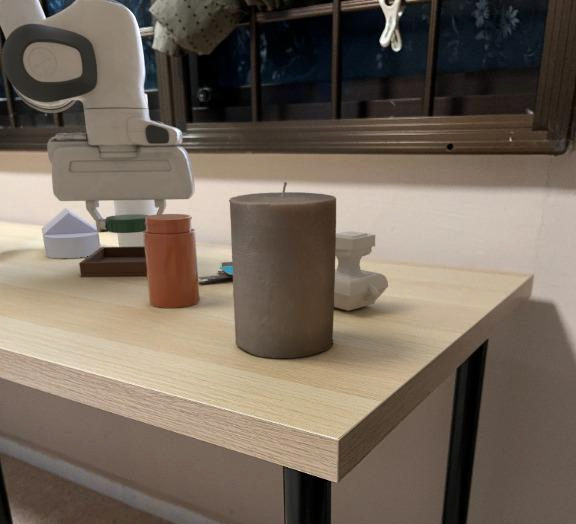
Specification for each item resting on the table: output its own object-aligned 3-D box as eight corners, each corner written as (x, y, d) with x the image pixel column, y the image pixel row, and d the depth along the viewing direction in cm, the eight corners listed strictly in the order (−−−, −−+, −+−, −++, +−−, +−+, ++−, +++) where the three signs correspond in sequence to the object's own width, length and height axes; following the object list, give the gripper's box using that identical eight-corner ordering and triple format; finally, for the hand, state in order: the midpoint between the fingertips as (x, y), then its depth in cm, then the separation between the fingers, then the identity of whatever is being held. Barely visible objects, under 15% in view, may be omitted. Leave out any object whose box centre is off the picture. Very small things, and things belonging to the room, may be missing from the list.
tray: (80, 276, 88) (78, 263, 87) (102, 259, 100) (101, 246, 99) (166, 275, 88) (165, 261, 87) (177, 258, 100) (176, 246, 99)
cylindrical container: (134, 252, 105) (118, 92, 95) (111, 248, 109) (93, 94, 100) (167, 247, 110) (155, 94, 100) (144, 243, 114) (130, 95, 105)
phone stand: (214, 294, 78) (213, 281, 77) (189, 276, 88) (188, 264, 87) (351, 279, 85) (352, 267, 84) (314, 264, 95) (314, 253, 94)
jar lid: (139, 233, 88) (138, 220, 87) (98, 232, 89) (97, 219, 89) (158, 227, 94) (157, 214, 93) (119, 226, 95) (118, 213, 95)
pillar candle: (340, 331, 63) (344, 178, 57) (324, 363, 54) (327, 187, 48) (250, 325, 65) (245, 177, 59) (220, 355, 56) (211, 185, 50)
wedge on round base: (44, 247, 110) (46, 260, 99) (38, 209, 108) (39, 217, 97) (96, 244, 113) (103, 256, 102) (91, 206, 111) (98, 214, 100)
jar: (148, 309, 71) (139, 220, 67) (150, 296, 77) (143, 214, 73) (199, 306, 72) (194, 219, 68) (198, 294, 78) (193, 212, 74)
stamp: (300, 304, 73) (301, 232, 70) (338, 294, 77) (340, 226, 74) (357, 319, 67) (360, 242, 63) (395, 308, 71) (400, 235, 68)
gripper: (37, 132, 83) (53, 235, 88) (187, 131, 84) (194, 233, 89) (52, 132, 89) (66, 229, 94) (192, 131, 90) (198, 227, 95)
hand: (129, 231), depth 92 cm, fingers closed on jar lid, 6 cm apart
